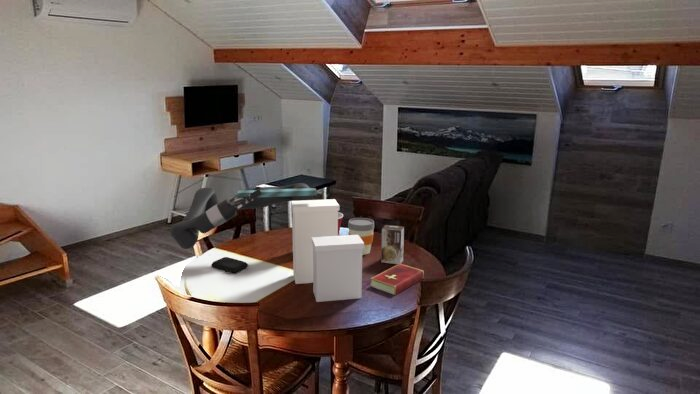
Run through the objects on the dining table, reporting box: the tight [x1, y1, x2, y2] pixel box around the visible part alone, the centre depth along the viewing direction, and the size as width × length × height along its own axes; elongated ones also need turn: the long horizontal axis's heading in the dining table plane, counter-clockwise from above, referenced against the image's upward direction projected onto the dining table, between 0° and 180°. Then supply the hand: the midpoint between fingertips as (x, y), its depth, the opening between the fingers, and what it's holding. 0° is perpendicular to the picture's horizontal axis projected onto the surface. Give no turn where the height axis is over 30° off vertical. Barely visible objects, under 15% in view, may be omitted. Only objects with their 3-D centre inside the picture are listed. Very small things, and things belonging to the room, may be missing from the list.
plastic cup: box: [338, 211, 344, 236], centre depth 244 cm, size 11×11×12 cm
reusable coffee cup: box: [347, 217, 375, 256], centre depth 223 cm, size 13×13×15 cm
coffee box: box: [380, 224, 405, 265], centre depth 211 cm, size 9×6×16 cm
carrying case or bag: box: [210, 256, 249, 275], centre depth 203 cm, size 11×3×15 cm
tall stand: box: [290, 198, 341, 285], centre depth 190 cm, size 18×10×32 cm, turn 102°
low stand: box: [312, 234, 364, 303], centre depth 177 cm, size 18×10×22 cm, turn 102°
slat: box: [237, 187, 318, 198], centre depth 182 cm, size 30×4×2 cm, turn 102°
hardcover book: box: [370, 263, 425, 296], centre depth 191 cm, size 12×21×4 cm, turn 141°
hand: (260, 190), depth 181 cm, fingers closed on slat, 4 cm apart
